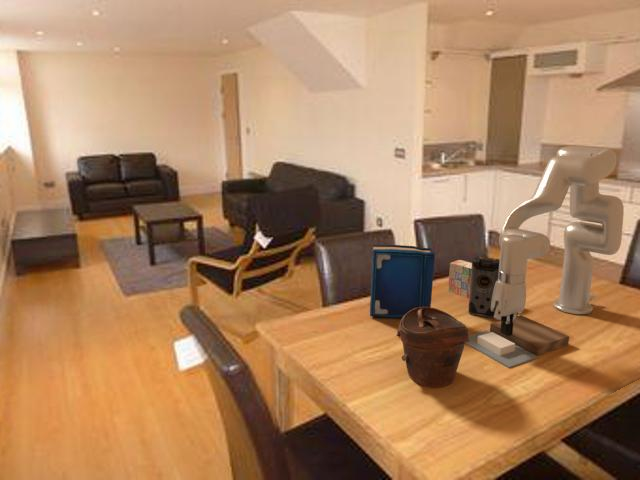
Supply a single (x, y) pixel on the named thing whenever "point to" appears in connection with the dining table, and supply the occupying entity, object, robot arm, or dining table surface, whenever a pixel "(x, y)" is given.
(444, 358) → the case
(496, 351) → the tile
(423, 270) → the book
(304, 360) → the dining table surface
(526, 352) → the mat
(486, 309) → the electronic device
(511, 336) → the plate
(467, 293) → the stack of blocks
